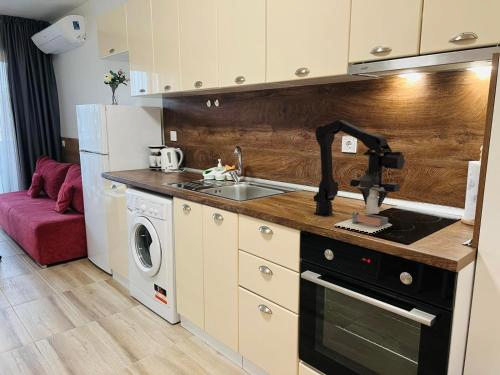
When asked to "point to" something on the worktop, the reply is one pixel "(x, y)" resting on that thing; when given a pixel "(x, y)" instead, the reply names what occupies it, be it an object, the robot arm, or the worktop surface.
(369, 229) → the lock base
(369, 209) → the pepper shaker
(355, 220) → the locking bar
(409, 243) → the worktop surface
